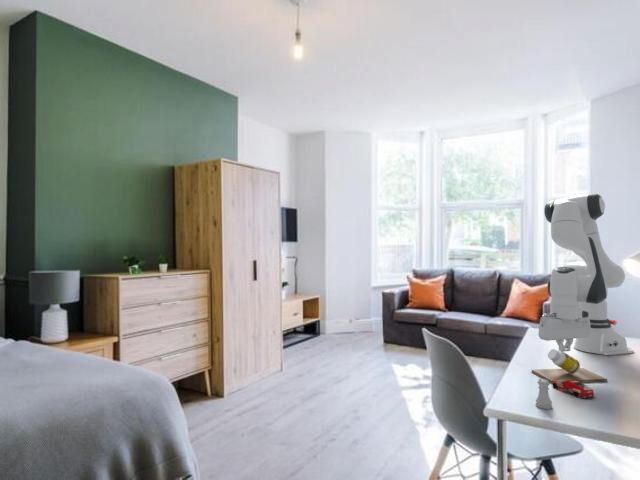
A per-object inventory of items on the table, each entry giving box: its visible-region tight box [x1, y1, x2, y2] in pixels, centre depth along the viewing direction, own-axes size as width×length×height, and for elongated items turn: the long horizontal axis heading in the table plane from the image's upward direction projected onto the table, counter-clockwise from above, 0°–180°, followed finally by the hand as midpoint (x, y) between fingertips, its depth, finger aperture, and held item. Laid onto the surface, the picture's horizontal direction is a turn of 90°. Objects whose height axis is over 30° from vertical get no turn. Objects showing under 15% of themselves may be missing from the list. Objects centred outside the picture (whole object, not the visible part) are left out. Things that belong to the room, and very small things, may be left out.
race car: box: [551, 379, 595, 399], centre depth 132 cm, size 13×5×4 cm, turn 16°
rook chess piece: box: [535, 377, 553, 410], centre depth 121 cm, size 4×4×8 cm
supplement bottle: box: [547, 348, 581, 374], centre depth 146 cm, size 5×5×10 cm
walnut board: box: [531, 367, 608, 385], centre depth 146 cm, size 20×12×1 cm, turn 93°
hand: (564, 351), depth 146 cm, fingers closed
